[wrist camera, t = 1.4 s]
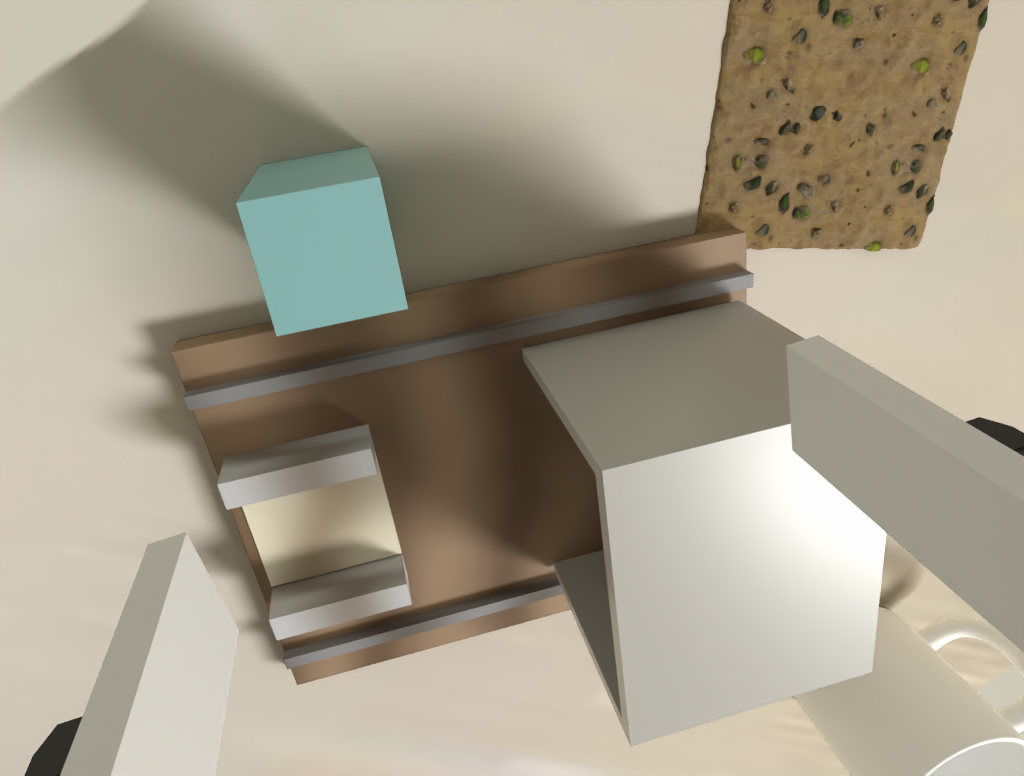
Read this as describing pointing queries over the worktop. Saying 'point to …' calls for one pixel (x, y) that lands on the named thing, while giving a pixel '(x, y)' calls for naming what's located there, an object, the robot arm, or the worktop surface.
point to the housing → (707, 523)
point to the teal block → (321, 240)
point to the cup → (920, 708)
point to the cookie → (835, 119)
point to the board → (424, 450)
